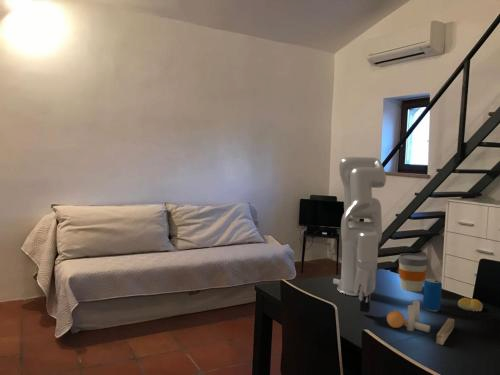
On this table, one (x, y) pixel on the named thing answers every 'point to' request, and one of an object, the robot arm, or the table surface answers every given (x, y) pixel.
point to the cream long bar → (445, 331)
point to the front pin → (419, 326)
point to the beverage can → (432, 294)
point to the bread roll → (470, 304)
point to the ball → (395, 319)
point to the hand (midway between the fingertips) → (364, 311)
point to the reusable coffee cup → (412, 271)
